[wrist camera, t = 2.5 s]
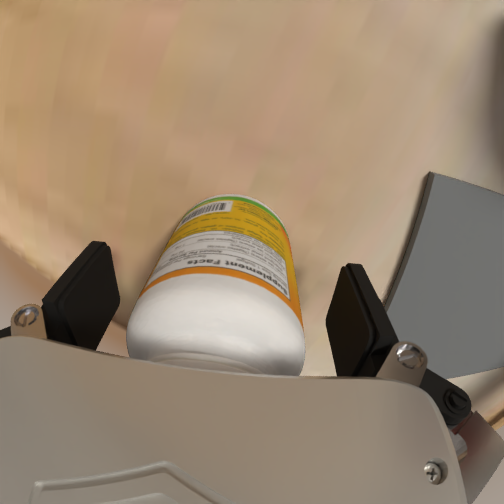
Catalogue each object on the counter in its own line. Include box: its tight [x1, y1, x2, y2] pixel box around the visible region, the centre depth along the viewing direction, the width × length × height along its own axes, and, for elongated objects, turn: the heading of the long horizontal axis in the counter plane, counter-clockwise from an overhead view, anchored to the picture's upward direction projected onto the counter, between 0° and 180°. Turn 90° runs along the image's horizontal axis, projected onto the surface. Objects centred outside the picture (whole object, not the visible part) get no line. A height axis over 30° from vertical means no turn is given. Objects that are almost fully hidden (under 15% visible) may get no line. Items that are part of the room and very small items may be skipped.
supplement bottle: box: [126, 194, 305, 376], centre depth 10 cm, size 5×5×10 cm
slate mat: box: [384, 172, 504, 379], centre depth 16 cm, size 20×16×1 cm
